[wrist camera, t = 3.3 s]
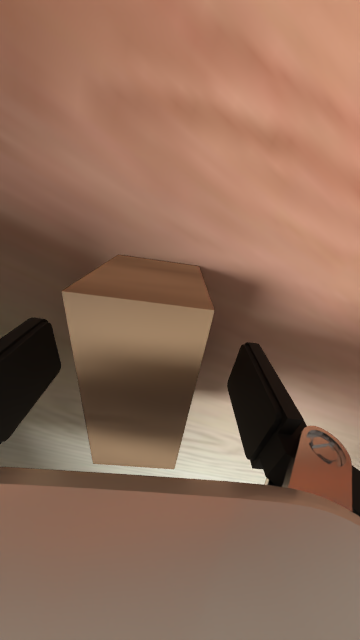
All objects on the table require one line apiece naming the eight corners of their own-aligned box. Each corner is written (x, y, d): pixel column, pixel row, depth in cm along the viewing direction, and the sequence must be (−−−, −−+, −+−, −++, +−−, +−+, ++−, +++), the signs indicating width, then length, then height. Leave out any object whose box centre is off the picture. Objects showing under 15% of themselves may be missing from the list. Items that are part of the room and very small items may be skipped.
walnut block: (176, 388, 14) (174, 469, 9) (121, 383, 14) (92, 463, 9) (198, 266, 9) (214, 310, 5) (118, 254, 9) (61, 291, 5)
